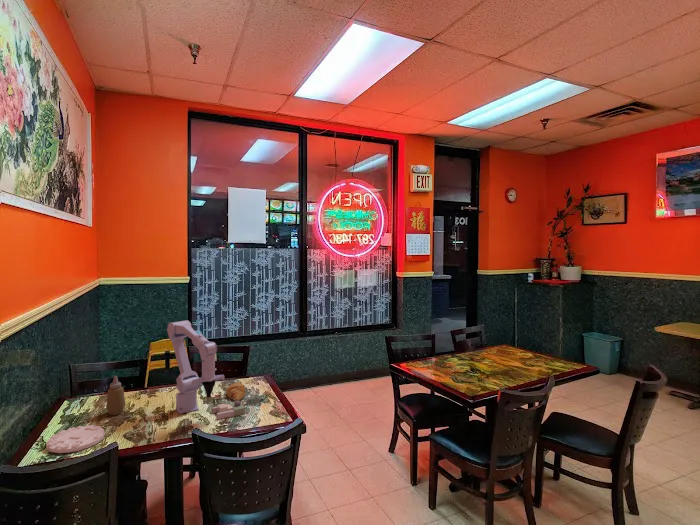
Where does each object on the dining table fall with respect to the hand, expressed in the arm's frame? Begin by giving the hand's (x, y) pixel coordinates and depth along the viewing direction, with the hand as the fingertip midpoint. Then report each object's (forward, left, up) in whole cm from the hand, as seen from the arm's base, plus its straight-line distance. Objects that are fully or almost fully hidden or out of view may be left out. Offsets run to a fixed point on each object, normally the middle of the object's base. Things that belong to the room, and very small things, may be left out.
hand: (208, 396), depth 191 cm
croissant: (+19, +20, -10) cm, 30 cm away
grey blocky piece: (+10, 0, -10) cm, 14 cm away
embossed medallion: (-52, +4, -10) cm, 53 cm away
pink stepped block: (+8, 0, -10) cm, 13 cm away
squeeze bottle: (-37, +28, -10) cm, 48 cm away
